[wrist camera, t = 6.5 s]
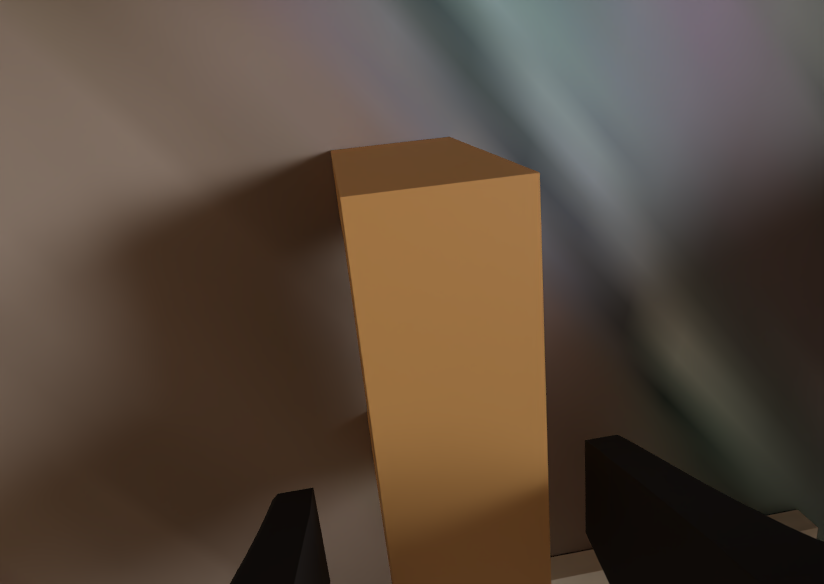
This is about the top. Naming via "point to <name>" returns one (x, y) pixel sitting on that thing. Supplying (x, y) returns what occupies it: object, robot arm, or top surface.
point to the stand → (584, 577)
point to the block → (451, 356)
